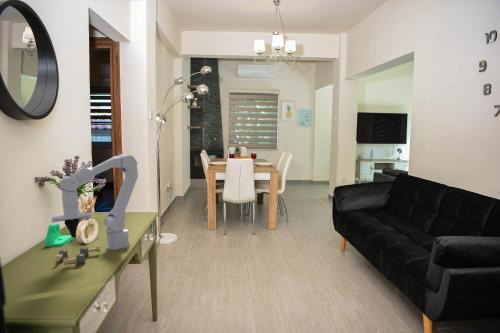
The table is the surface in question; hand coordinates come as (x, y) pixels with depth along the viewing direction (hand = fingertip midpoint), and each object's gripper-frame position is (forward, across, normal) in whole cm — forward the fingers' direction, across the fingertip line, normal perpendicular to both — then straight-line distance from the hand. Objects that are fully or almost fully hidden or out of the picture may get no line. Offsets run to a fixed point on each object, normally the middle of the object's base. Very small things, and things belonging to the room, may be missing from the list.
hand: (73, 236), depth 143 cm
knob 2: (+9, -1, +9) cm, 13 cm away
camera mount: (+11, +10, -25) cm, 29 cm away
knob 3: (+9, -6, +1) cm, 11 cm away
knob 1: (+9, +5, +2) cm, 11 cm away
